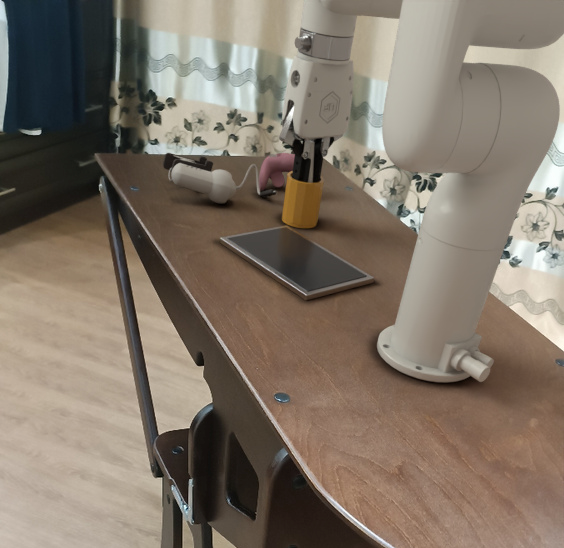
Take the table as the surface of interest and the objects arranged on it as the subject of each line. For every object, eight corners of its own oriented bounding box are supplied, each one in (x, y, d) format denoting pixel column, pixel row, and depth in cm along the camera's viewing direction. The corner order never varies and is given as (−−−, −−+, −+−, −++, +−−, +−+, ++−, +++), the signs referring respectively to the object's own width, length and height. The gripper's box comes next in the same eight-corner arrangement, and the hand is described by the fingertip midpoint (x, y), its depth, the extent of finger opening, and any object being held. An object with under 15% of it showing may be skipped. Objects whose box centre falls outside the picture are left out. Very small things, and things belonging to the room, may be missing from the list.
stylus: (313, 217, 115) (316, 142, 109) (305, 219, 114) (308, 143, 108) (306, 215, 116) (309, 140, 110) (297, 217, 115) (300, 141, 109)
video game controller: (312, 202, 128) (318, 160, 126) (312, 198, 124) (319, 155, 122) (257, 193, 128) (263, 151, 126) (256, 188, 124) (262, 145, 122)
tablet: (373, 282, 103) (374, 276, 102) (305, 300, 96) (306, 294, 95) (286, 230, 113) (286, 224, 113) (219, 242, 106) (219, 236, 106)
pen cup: (324, 225, 117) (331, 181, 112) (296, 230, 114) (303, 185, 109) (301, 212, 120) (307, 168, 115) (274, 217, 117) (279, 172, 112)
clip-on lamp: (257, 202, 129) (159, 174, 121) (267, 166, 125) (168, 134, 118) (273, 222, 120) (169, 192, 113) (285, 183, 116) (178, 150, 109)
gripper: (299, 53, 94) (281, 196, 106) (382, 52, 103) (357, 184, 115) (264, 40, 98) (251, 179, 110) (347, 40, 106) (326, 169, 119)
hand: (305, 181), depth 112 cm, fingers closed on stylus, 1 cm apart
